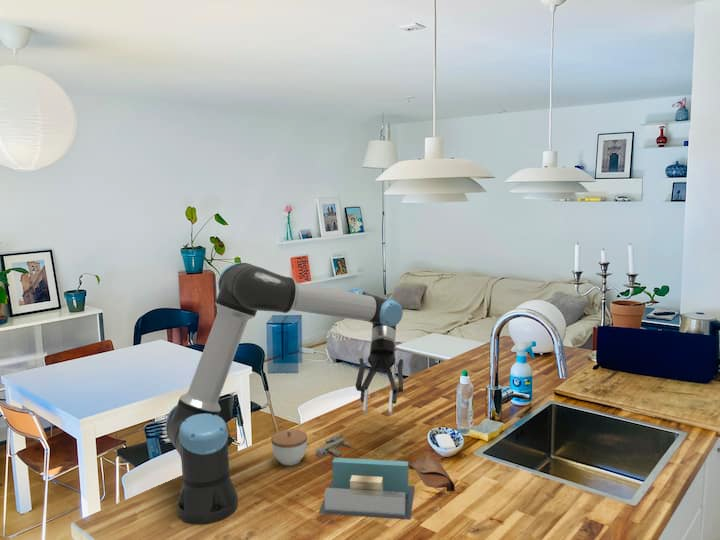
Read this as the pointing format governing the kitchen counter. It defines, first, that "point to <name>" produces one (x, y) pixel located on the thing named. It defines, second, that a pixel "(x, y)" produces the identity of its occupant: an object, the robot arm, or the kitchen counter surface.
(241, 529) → the kitchen counter surface
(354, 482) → the block
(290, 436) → the lidded jar
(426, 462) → the sunglasses case
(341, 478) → the slide jaw
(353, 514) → the vise base
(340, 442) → the clamp
